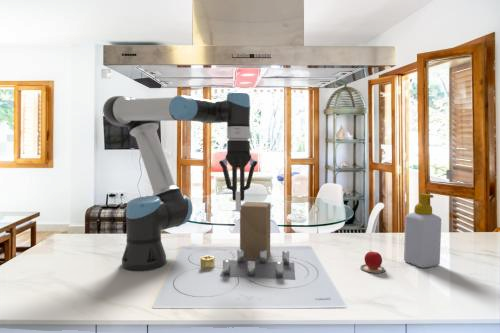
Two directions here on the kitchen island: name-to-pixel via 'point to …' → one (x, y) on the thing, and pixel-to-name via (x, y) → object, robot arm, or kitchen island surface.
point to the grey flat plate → (260, 270)
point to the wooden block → (255, 229)
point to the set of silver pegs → (252, 263)
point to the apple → (373, 263)
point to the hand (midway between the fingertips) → (238, 210)
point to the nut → (207, 262)
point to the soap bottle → (422, 235)
